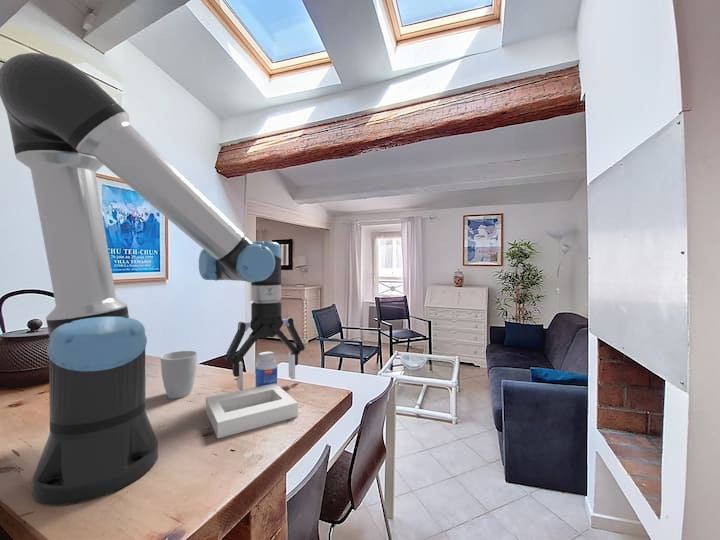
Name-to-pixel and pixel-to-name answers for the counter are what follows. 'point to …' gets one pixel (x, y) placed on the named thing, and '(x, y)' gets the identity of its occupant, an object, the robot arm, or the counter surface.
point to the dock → (249, 409)
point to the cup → (178, 372)
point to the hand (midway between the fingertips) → (267, 383)
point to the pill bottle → (266, 369)
